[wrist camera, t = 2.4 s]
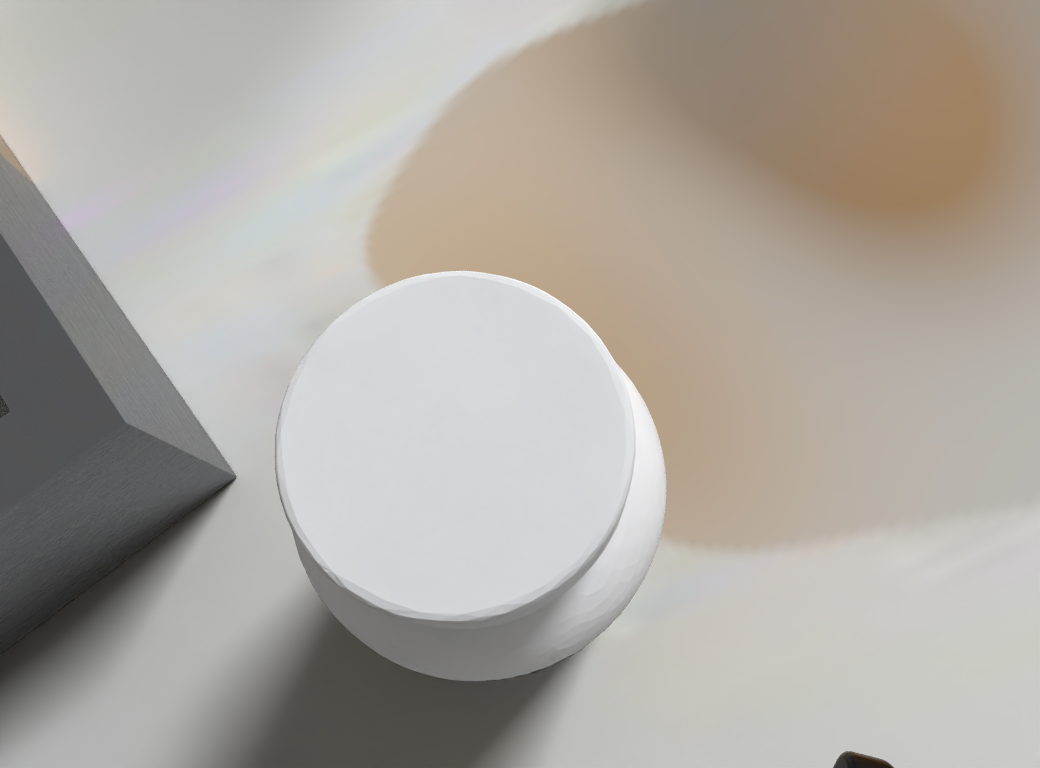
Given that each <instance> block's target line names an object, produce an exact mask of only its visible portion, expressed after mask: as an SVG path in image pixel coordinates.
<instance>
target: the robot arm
mask: <svg viewBox="0 0 1040 768" xmlns="http://www.w3.org/2000/svg"><path fill="white" fill-rule="evenodd" d="M833 768H894V767H893V766H891V765H890V764H889V763H888V762H887V761H885V760H882V759H879V758H875V757H871V756H867V755H863V754H859V753H855V752H852V751H846V752H844V753H842V754H841V755H840V756H839V758H838V759H837V761H836V763H835V765H834V767H833Z"/></svg>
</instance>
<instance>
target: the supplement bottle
mask: <svg viewBox="0 0 1040 768" xmlns="http://www.w3.org/2000/svg"><path fill="white" fill-rule="evenodd" d="M275 471H276V479H277V486H278V490H279V495H280V499H281V502H282V505H283V508H284V511H285V514H286V517H287V520H288V522H289V524H290V526H291V529H292V531H293V535H294V539H295V542H296V546H297V550H298V553H299V556H300V559H301V561H302V563H303V566H304V568H305V570H306V573H307V575H308V577H309V579H310V581H311V583H312V585H313V587H314V588H315V590H316V592H317V593H318V595H319V596H320V598H321V600H322V601H323V602H324V604H325V605H326V606H327V607H328V609H329V610H330V611H331V612H332V614H333V615H334V616H335V617H336V618H337V619H338V620H339V621H340V622H341V623H342V624H343V625H344V626H345V627H346V628H347V629H348V631H350V632H351V633H352V634H353V635H355V636H356V637H357V638H358V639H359V640H361V641H362V642H363V643H364V644H366V645H367V646H368V647H369V648H371V649H372V650H374V651H375V652H377V653H378V654H380V655H382V656H383V657H385V658H387V659H388V660H390V661H392V662H394V663H396V664H398V665H400V666H403V667H405V668H407V669H410V670H413V671H416V672H419V673H422V674H426V675H430V676H434V677H438V678H443V679H449V680H458V681H495V680H500V679H506V678H513V677H519V676H522V675H526V674H530V673H535V672H537V671H540V670H542V669H545V668H547V667H549V666H551V665H553V664H555V663H558V662H560V661H561V660H563V659H565V658H567V657H569V656H572V655H573V654H575V653H577V652H579V651H581V650H582V649H583V648H584V647H585V646H586V645H587V644H589V643H590V642H591V641H592V640H594V639H595V638H596V637H597V636H599V635H600V634H601V633H602V632H603V631H605V629H606V628H608V627H609V625H610V624H611V623H612V622H613V621H614V620H615V619H616V618H617V617H618V616H619V615H620V614H621V613H622V611H623V610H624V609H625V607H626V606H627V605H628V603H629V602H630V600H631V599H632V598H633V596H634V594H635V593H636V591H637V590H638V588H639V586H640V585H641V583H642V581H643V580H644V578H645V576H646V574H647V571H648V569H649V567H650V565H651V563H652V560H653V558H654V555H655V552H656V550H657V547H658V543H659V540H660V536H661V532H662V526H663V520H664V514H665V507H666V475H665V474H666V473H665V466H664V459H663V452H662V449H661V445H660V441H659V437H658V433H657V431H656V427H655V425H654V422H653V420H652V417H651V415H650V413H649V410H648V409H647V406H646V404H645V402H644V401H643V399H642V397H641V396H640V394H639V392H638V391H637V389H636V388H635V386H634V385H633V383H632V382H631V380H630V379H629V378H628V377H627V375H626V374H625V373H624V372H623V371H622V369H621V368H620V367H619V366H618V365H617V364H616V363H615V361H614V359H613V358H612V356H611V355H610V353H609V351H608V350H607V348H606V346H605V345H604V343H603V342H602V340H601V339H600V338H599V337H598V336H597V334H596V333H595V332H594V331H593V330H592V329H591V327H590V326H589V325H588V324H587V323H586V322H585V321H584V320H583V319H582V318H581V317H579V316H578V315H577V314H576V313H574V312H573V311H572V310H571V309H570V308H569V307H568V306H566V305H564V304H563V303H562V302H560V301H559V300H557V299H556V298H554V297H552V296H551V295H549V294H547V293H546V292H544V291H542V290H540V289H538V288H536V287H534V286H532V285H529V284H526V283H524V282H521V281H518V280H515V279H511V278H508V277H504V276H498V275H493V274H488V273H481V272H471V271H452V272H451V271H450V272H439V273H432V274H425V275H420V276H416V277H412V278H408V279H405V280H402V281H400V282H397V283H394V284H392V285H389V286H387V287H385V288H383V289H380V290H378V291H376V292H374V293H373V294H371V295H369V296H367V297H365V298H364V299H362V300H361V301H359V302H358V303H356V304H354V305H353V306H352V307H350V308H349V309H348V310H346V311H345V312H344V313H343V314H341V315H340V316H339V317H338V318H337V319H335V320H334V321H333V322H332V323H331V324H330V325H329V326H328V327H327V328H326V329H325V330H324V331H323V332H322V333H321V334H320V335H319V337H318V338H317V339H316V340H315V341H314V343H313V344H312V345H311V347H310V348H309V349H308V351H307V352H306V354H305V355H304V357H303V358H302V360H301V362H300V363H299V365H298V367H297V369H296V371H295V373H294V375H293V378H292V379H291V381H290V383H289V385H288V388H287V391H286V394H285V397H284V400H283V403H282V406H281V410H280V413H279V417H278V423H277V429H276V437H275Z"/></svg>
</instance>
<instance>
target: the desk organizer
mask: <svg viewBox="0 0 1040 768" xmlns="http://www.w3.org/2000/svg"><path fill="white" fill-rule="evenodd" d="M0 395H1V397H2V399H3V400H4V402H5V404H6V405H7V407H8V408H9V410H10V412H8V413H7V414H5V415H4V416H2V417H1V418H0V654H1V653H3V652H4V651H5V650H7V649H8V648H9V647H11V646H12V645H13V644H15V643H16V642H17V641H19V640H20V639H21V638H23V637H24V636H25V635H27V634H28V633H29V632H31V631H32V630H33V629H35V628H36V627H37V626H39V625H40V624H41V623H43V622H44V621H45V620H47V619H48V618H49V617H51V616H52V615H53V614H55V613H56V612H57V611H59V610H60V609H61V608H63V607H64V606H65V605H67V604H68V603H69V602H71V601H72V600H73V599H75V598H76V597H77V596H79V595H80V594H81V593H83V592H84V591H85V590H87V589H88V588H89V587H91V586H92V585H93V584H95V583H96V582H97V581H99V580H100V579H101V578H103V577H104V576H105V575H107V574H108V573H109V572H111V571H112V570H113V569H115V568H116V567H117V566H119V565H120V564H121V563H123V562H124V561H125V560H127V559H128V558H129V557H131V556H132V555H133V554H134V553H136V552H137V551H138V550H140V549H141V548H142V547H144V546H145V545H146V544H148V543H149V542H150V541H152V540H153V539H154V538H156V537H157V536H158V535H160V534H161V533H162V532H164V531H165V530H166V529H168V528H169V527H170V526H172V525H173V524H174V523H176V522H177V521H178V520H180V519H181V518H182V517H184V516H185V515H186V514H188V513H189V512H190V511H192V510H193V509H194V508H196V507H197V506H198V505H200V504H201V503H202V502H204V501H205V500H206V499H208V498H209V497H210V496H212V495H213V494H214V493H216V492H217V491H218V490H220V489H221V488H222V487H224V486H225V485H226V484H228V483H229V482H230V481H232V480H233V479H234V478H236V477H237V476H236V475H235V473H234V472H233V470H232V469H231V468H230V466H229V465H228V463H227V462H226V460H225V459H224V457H223V456H222V455H221V453H220V452H219V450H218V449H217V447H216V446H215V445H214V443H213V442H212V440H211V439H210V437H209V436H208V434H207V433H206V432H205V430H204V429H203V427H202V426H201V424H200V423H199V421H198V420H197V419H196V417H195V416H194V414H193V413H192V411H191V410H190V408H189V407H188V406H187V404H186V403H185V401H184V400H183V398H182V397H181V395H180V394H179V393H178V391H177V390H176V388H175V387H174V385H173V384H172V382H171V381H170V380H169V378H168V377H167V375H166V374H165V372H164V371H163V369H162V368H161V367H160V365H159V364H158V362H157V361H156V359H155V358H154V356H153V355H152V354H151V352H150V351H149V349H148V348H147V346H146V345H145V343H144V342H143V341H142V339H141V338H140V336H139V335H138V333H137V332H136V330H135V329H134V328H133V326H132V325H131V323H130V322H129V320H128V319H127V317H126V316H125V315H124V313H123V312H122V310H121V309H120V307H119V306H118V304H117V303H116V302H115V300H114V299H113V297H112V296H111V294H110V293H109V291H108V290H107V289H106V287H105V286H104V284H103V283H102V281H101V280H100V279H99V277H98V276H97V274H96V273H95V271H94V270H93V268H92V267H91V266H90V264H89V263H88V261H87V260H86V258H85V257H84V255H83V254H82V253H81V251H80V250H79V248H78V247H77V245H76V244H75V242H74V241H73V240H72V238H71V237H70V235H69V234H68V232H67V231H66V229H65V228H64V227H63V225H62V224H61V222H60V221H59V219H58V218H57V216H56V215H55V214H54V212H53V211H52V209H51V208H50V206H49V205H48V203H47V202H46V201H45V199H44V198H43V196H42V195H41V193H40V192H39V190H38V189H37V188H36V186H35V185H34V183H33V182H32V180H31V179H30V177H29V176H28V175H27V173H26V172H25V170H24V169H23V167H22V166H21V164H20V163H19V162H18V160H17V159H16V157H15V156H14V154H13V153H12V151H11V150H10V149H9V147H8V146H7V144H6V143H5V141H4V140H3V138H2V137H1V136H0Z"/></svg>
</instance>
